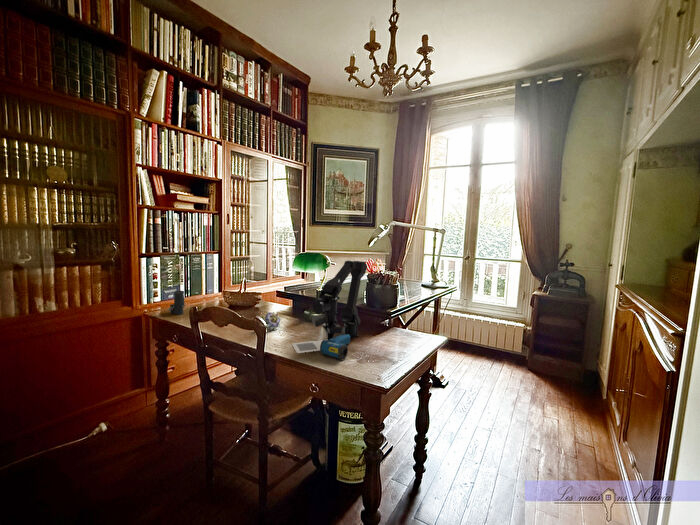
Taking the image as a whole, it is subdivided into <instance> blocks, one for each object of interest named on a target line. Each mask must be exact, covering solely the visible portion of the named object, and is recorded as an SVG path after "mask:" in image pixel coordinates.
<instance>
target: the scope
mask: <svg viewBox="0 0 700 525" xmlns="http://www.w3.org/2000/svg"><path fill="white" fill-rule="evenodd" d="M173 294H174V295H173V304H170V305H169V307H168V309H167V311H168V312H170V314H174V315H177V316H182V315H184V308H185V307H186V303H185V291H184V290H175V291H174V292H173Z"/></svg>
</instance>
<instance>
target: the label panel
mask: <svg viewBox="0 0 700 525" xmlns="http://www.w3.org/2000/svg"><path fill="white" fill-rule="evenodd" d="M323 340H324V339H321V340H309V341H301V342H292V343H291V346H292V347H294V348H293V349H294V351H295V353H296V354H297V353H298V354H304V353H305V352H306V353H311V352H313V351H314V352H320V345H321V342H322V341H323ZM326 340H328V339H327V338H326Z"/></svg>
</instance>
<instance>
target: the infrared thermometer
mask: <svg viewBox="0 0 700 525" xmlns="http://www.w3.org/2000/svg"><path fill="white" fill-rule="evenodd" d="M322 340H323V341H322V342H321V345H320V351H319V353H320V354H322V355H326V356H330V357H334V358H336V359H338V360H341V361H343V360H345V359H346V358H347V356H348V350H349V348H348V344H349V343H351V337H350V335H349V334H343V333H338V334H337V335H333V337H332V338H331V339H329V340H327V339H322Z"/></svg>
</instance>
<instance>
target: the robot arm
mask: <svg viewBox="0 0 700 525" xmlns="http://www.w3.org/2000/svg"><path fill="white" fill-rule="evenodd" d="M367 268H368V264H367V263H366V261H360V260H345V261H344V263H343V265H342V267H340V269H339V271H337V273H336V274H335V275H334V277H333V278H332V279H329V280H327V282H325V283H324V285H323V286H322V288H321V292H320V294H319V296H318V298H316V301H315V302H314V303H313V304H312V310H313V311H312V312H314V313H315V314H316V316H314V317H312V318H311V321H312V323H313V326H314V327H315V328H318V327H320V326H321V327H322V328H323V329H324V330H325V335H326V340H327V339H328V340H329V339H331V338H332V337H334V336H335V334H349V335H350V338H354V337H355V338H356V337H359V334H358V326H360V324H361V321H362V320H361V319H360V317H359V311H358V307H357V303H358V302H357V301H358V299H359V298H358V296H359V291H360V286H361V280H362V278H363V277H364V275H365V274H366V272H367ZM349 275H350V276H351V279H350V284H349V289H348V295H347V299H346V300H347V301H346V304H345V305H344V306H342V307H341V312H340V319H341V323H342V324H344V325H343V327H342V326H341V325H339V324H338V321H337V316H338V315H339V312H338V311H337V310H338V300H340V298H341V297H340V296H339V294H340V293H341V291H342V290H343V288H342V285H343V284H344V282H345V281H346V280H347V278H348V277H349Z"/></svg>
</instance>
